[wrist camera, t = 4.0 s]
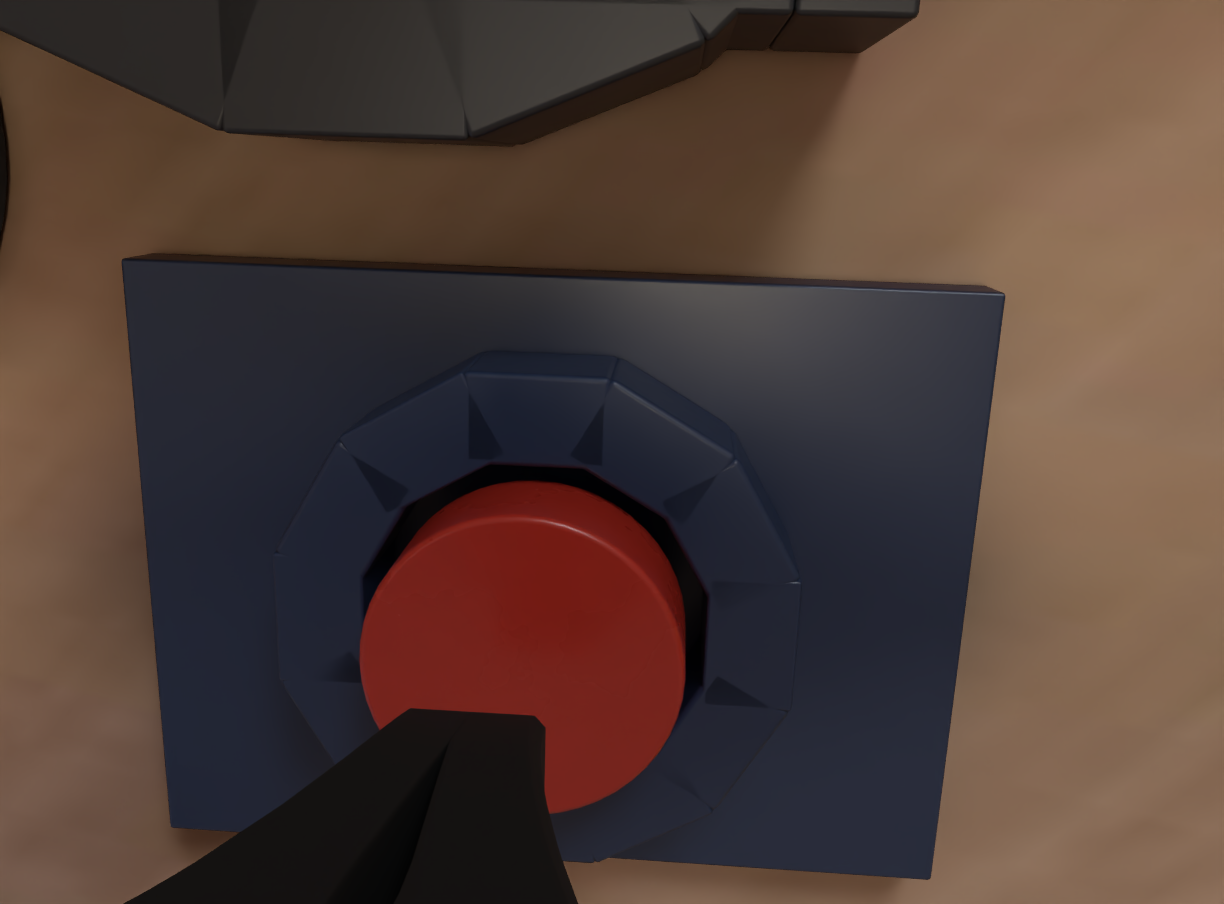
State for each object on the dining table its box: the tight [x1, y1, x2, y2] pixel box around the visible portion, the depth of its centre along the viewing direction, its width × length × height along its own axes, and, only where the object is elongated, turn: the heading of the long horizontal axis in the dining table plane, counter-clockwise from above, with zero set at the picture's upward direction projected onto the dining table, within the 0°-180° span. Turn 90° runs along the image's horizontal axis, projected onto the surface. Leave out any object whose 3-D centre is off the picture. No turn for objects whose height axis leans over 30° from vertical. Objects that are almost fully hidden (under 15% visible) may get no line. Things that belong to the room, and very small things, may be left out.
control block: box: [122, 254, 1005, 880], centre depth 15 cm, size 12×9×2 cm
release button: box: [359, 480, 686, 814], centre depth 14 cm, size 4×4×2 cm
